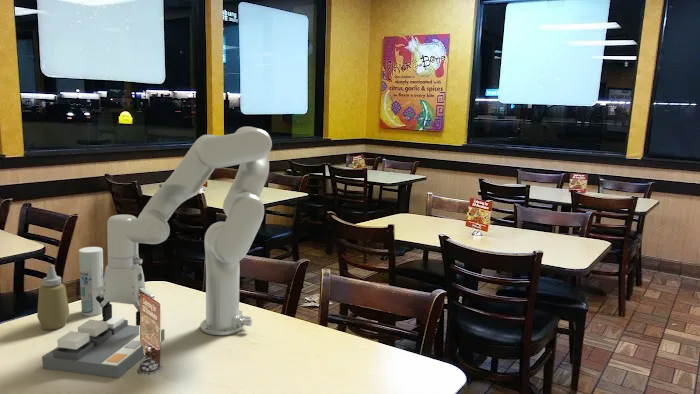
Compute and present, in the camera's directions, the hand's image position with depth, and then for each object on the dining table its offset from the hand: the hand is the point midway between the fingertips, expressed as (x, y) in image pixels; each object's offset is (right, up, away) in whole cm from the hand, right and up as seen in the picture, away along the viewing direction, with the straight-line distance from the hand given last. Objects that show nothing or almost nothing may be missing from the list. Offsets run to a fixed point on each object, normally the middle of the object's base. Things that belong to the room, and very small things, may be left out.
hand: (123, 321), depth 145 cm
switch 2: (-5, -1, -6) cm, 8 cm away
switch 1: (-6, -2, -14) cm, 15 cm away
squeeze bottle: (-23, -3, +8) cm, 25 cm away
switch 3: (-4, -2, +1) cm, 5 cm away
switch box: (-2, -7, -6) cm, 9 cm away
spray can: (-18, -2, +19) cm, 26 cm away
